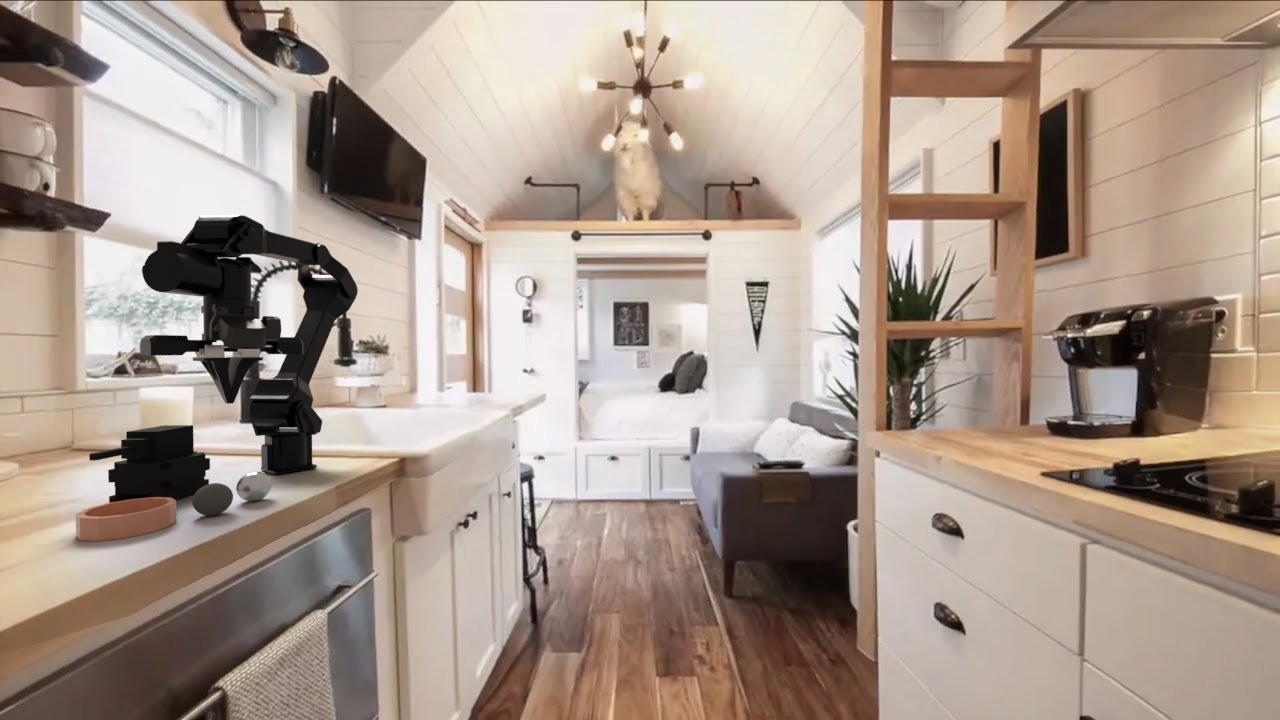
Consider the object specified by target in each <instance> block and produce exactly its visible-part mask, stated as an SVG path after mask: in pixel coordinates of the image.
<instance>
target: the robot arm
mask: <svg viewBox="0 0 1280 720" xmlns="http://www.w3.org/2000/svg"><path fill="white" fill-rule="evenodd" d="M243 255H255V256H260V257H266V258H271V259H276V260H280V261H284V262H290V263H295V266H296V267H297V282H298V283H299V285H300V286H301V288H302V289H303V295H302V299H303V301H304V304H305V307H306V311H305V313H304V315H303V317H302V320H301V322H300V324H299V326H298V328H297V331H296V333H295V336H294V337H289V336H283V337H282V321H281V318H280V317H279V316H274V315H273V316H271V315H264V316H262V318H257V317H256V310H255V306H252V274H261V273H262V271H263V270H262V268H261V267H260V266H259V265H258V264H256V263H255V262H254V261H253V259H252V257H250V256H243ZM310 266H319V267H320V268H321V270H323V271H324V272H325V273H327V274H318V275H317V274H316V275H313V273H312V271H311V270H310ZM141 274H142V277H143V280H144V282H145V284H146V285H147V286H148V288H150V289H152V290H153V291H155V292H159V293H165V294H172V295H173V294H175V295H183V296H193V297H202V300H203V301H202V304H203V305H202V306H201V307H200V308H201V314H203V318H202V319H203V333H201V339H189V337H188V335H173V334H172V335H166V334H165V335H164V334H162V335H161V334H153V335H152V334H150V335H145V336H144V337H142V338H141V339H140V343H139V353H140V354H139V355H140V356H183V355H184V354H186V353H194V354H195V355H196V356H195V357H192V361H193V362H200V363H201V364H202V366H203V367H204V369H206V371H207V373H208V374H209V376H210V377H211V379H212V380H213V382H214V384H215V386H216V388H217V390H218V392H219V394H220V396H221V398H222V400H223V402H224V404H227V405H229V404H234V403H235V402H236V398H237V396H238V393H239V392H240V389H241V386H242V384H243V382H244V379H245V377H246V375H247V373H248V371H249V370H250V369H251V367H252V366H253V365H254V364H255V363H256V362H257V361H258V362H259V361H263V360H264V356H262V357H261V356H260V354H261V352H262V353H263V352H264V353H265V354H267V355H285V358H284V360H283V361H282V363H281V366H280V368H279V371H278V373H277V375H276V376H274V377H272V378H261V379H260V380H258V382H256V387H255V390H254V391H253V394H252V395H251V396H250V397H249V398H248V401H251V402H250V403H249V406H248V410H247V411H248V416H249V418H250V422H251V424H252V429H253V432H254V435H255V437H260V436H264V444H261V446H260V447H261V451H260V452H261V467H260V471H264V472H267V473H270V474H272V475H282V474H288V473H295V472H299V471H305V470H311V469H316V468H317V467H318V465H317V464H314V463H313V436H315V435H317V434H319V433H321V431H322V427H323V420H322V418H321V417H320V416H319V415H318V413H317V412H316V410H314V408H313V407H312V406H313V402H314V397H313V394H312V393H313V392H312V390H311V388H310V383H311V380H312V378H313V376H314V373H315V371H316V369H317V368H316V367H317V365H318V363H319V361H320V358H321V356H322V353H323V351H324V348H325V346H326V343H327V341H328V339H329V336H330V334H331V331H332V329H333V326H334V324H335V321H336V320H337V319H339V318H340V317H341V316H343V315H344V314H346V313H347V312H349V310H350V309H351V307H352V305H353V304H354V302H355V300H356V298H357V295H358V285H357V283H356V282H355V280H354V278H353V276H352V274H351V273H350V271H349V269H348V268H347V267H346V266H345V265H344V264H342V263H341V261H339V260H337V259H336V258H335V257H333V256H332V254H331V252H330V251H329V249H328V247H327V246H326V245H324V244H322V243H320V242H311V241H307V240H303V239H299V238H295V237H291V236H287V235H285V234H284V235H283V234H281V233H276V232H273V231H269V230H267V229H266V228H265V226H264V224H262V223H261V222H259V221H257V220H255V219H253V218H252V217H251V218H250V217H248V216H246V215H241V214H239V215H238V214H236V215H235V214H234V215H233V214H231V215H230V214H229V215H228V214H227V215H226V214H225V215H220V214H219V215H201V216H198V219H197V220H195V222H194V224H193V227H192V228H191V230H190V231H189V232H188V233H187V235H186V236H185V238H184V239H182V241H181V242H176V241H173V240H167V241H166V240H165V241H164V240H163V241H162V240H161V241H157V242H156V250H155V251H153V252H151V253H150V254H149V255H148V256H147V258H146V260H145V262H144V264H143V265H142V268H141ZM218 341H220V342H222V343H223V344H213V343H217V342H218ZM226 352H229V353H230V352H231V353H232V356H226V357H225V353H226Z"/></svg>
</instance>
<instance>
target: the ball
mask: <svg viewBox="0 0 1280 720" xmlns="http://www.w3.org/2000/svg"><path fill="white" fill-rule="evenodd" d="M233 500H234V493H233V491H232V489H231V488H230V487H229V486H228V485H226V484H224V483H218V482H214V483H213V482H212V483H209V484H208V485H205V486H203V487H202V488H200V489H199V490H198V491H197V492H196V493H195V495H193V497H192V506H193V509H194V510H195V511H196V512H197V513H198V514H201V515H203V516H206V517H207V516H210V517H211V516H216V515H219V514H222V513H224V512H225V511H226V510H228V508H229V507H230V506H231V504H232V503H233Z"/></svg>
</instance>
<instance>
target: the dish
mask: <svg viewBox="0 0 1280 720" xmlns="http://www.w3.org/2000/svg"><path fill="white" fill-rule="evenodd" d="M177 514H178V513H177V501H176V500H175V499H173V498H171V497H149V498H138V499H129V500H124V501H118V502H112V503H109V502H108V503H107V502H106V503H103V504H99V505H96V506H91V507H88V508H85V509H83V510H82V511H79V512H77V513H76V514H75V537H76V538H77V539H78V540H79V541H84V542H85V541H86V542H104V541H110V540H111V541H112V540H119V539H127V538H131V537H136V536H141V535H145V534H151V533H154V532H157V531H159V530H162V529H165V528H169V527H171V526H172V525H173V524H174V523H176V522H177V521H178V520H177V519H178V518H177Z"/></svg>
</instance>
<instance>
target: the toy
mask: <svg viewBox="0 0 1280 720" xmlns="http://www.w3.org/2000/svg"><path fill="white" fill-rule="evenodd" d="M194 442H195V441H194V425H192V424H191V425H186V424H185V425H184V424H183V425H181V424H180V425H179V424H178V425H174V424H173V425H160V426H159V425H158V426H151V427H147V428H140V429H135V430H129V431H126V436H125V439H120V447H118V448H117V447H116V448H111V449H107V450H102V451H97V452H92V453H89V454H88V455H89V461H101V460H106V459H109V458H115V457H120V456H121V460H119V461H114V463H113V464H114V465H113V468H111V469H108V470H107V471H108V476H107V477H108V483H114V494H113V495H110V496H108V503H112V502H118V501H124V500H129V499H138V498H149V497H171V498H173V499H175V500H176V502H177V501H181V500H182V499H186V498H189V497H191V496H194V495H195V493H196V492H197V491H198V490H199V489H200V488H202V487H203V486H205V485H208V484H210V479H209V478H205V477H206V474H207V473H206V471H209V470H211V458H210V457H206V453H205V452H198V451H194V449H195V448H194Z"/></svg>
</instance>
